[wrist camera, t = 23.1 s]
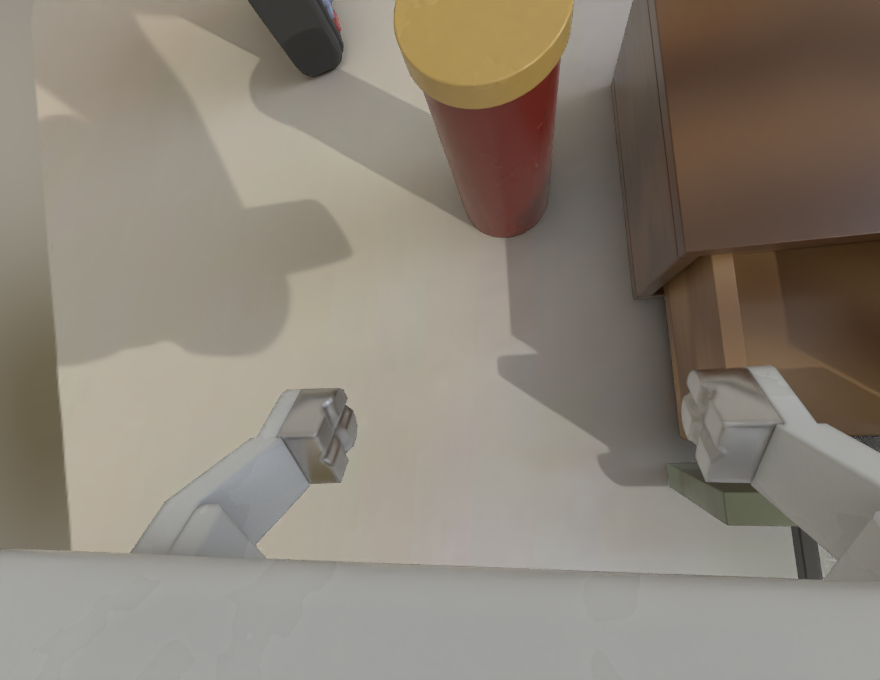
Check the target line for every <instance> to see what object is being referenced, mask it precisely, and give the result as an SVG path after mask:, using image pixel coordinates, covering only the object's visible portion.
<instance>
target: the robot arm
mask: <svg viewBox="0 0 880 680" xmlns="http://www.w3.org/2000/svg"><path fill="white" fill-rule="evenodd" d="M686 384H687V386H688V389H689V391H690V392H689V393H688V394H687V395H686V396H684V397H683V400H682V406H681V417H682V424H683V428H684V431H685V434H686V436H687V439H688V440H690V441H691V442H692V443H694V444H695V445H697V449H696V453H695V458H696V460H697V463H698V465H699V467H700V470H701V472H702V474H703V477H704V479H705V481H706V482H724V483H751V486H753V487H754V488H755V489H756V490H757V491H758V492H759V493H761V494H762V495H763V496H764V497H765V498H766V499H768V500H769V501H770V502H771V503H772V504H773V505H774V506H776V507H777V508H778V509H779V510H780V511H781V512H783V513H784V514H785V515H786V516H787V517H788V518H789V519H791V520H792V521H793V522H794V523H795V524H796V525H798V526H799V527H800V528H801V529H802V530H803V531H804V532H806V533H807V534H808V535H809V536H810V537H811V538H813V539H814V540H815V541H816V542H817V543H818V544H819V545H821V546H822V547H823V548H824V549H825V550H826V551H828V552H829V553H830V554H831V555H832V556H833V557H834V558H836V559H837V560H838V561H837V563H836V564H835V565H834V567H833V568H832V569H831V571H830V572H829V573H828V575H827V576H826V577H825V578H824V580H816V579H789V578H763V577H737V576H710V575H684V574H658V573H632V572H606V571H580V570H554V569H528V568H501V567H475V566H448V565H421V564H394V563H368V562H342V561H316V560H290V559H266V557H265V556H264V555H263V553H262V552H261V551H260V550H259V549H258V548H257V547H256V544H257V543H258V542H259V540H260V539H261V538H262V537H263V536H264V535H265V534H266V533H267V532H268V531H269V530H270V529H271V527H272V526H273V525H274V524H275V523H276V522H277V521H278V520H279V519H280V518H281V517H282V516H283V514H284V513H285V512H286V511H287V510H288V509H289V508H290V507H291V506H292V505H293V504H294V502H295V501H296V500H297V499H298V498H299V497H300V496H301V495H302V494H303V493H304V492H305V491H306V489H307V488H308V487H309V486H310V484H317V483H341V481H342V478H343V475H344V472H345V469H346V467H347V464H348V461H349V460H348V458H347V456H346V452H347V451H349V450H350V449H351V448H352V447H353V446H354V443H355V440H356V437H357V421H356V417H355V414H354V412H353V410H352V409H350V408H349V407H347V406H346V405H345V404H346V402H347V399H348V398H347V396H346V394H345V392H344V390H343V389H340V388H319V389H296V390H286V391H284V392H283V393H282V394H281V395H280V397H279V399H278V401H277V402H276V404H275V406H274V408H273V409H272V411H271V413H270V415H269V416H268V418H267V420H266V422H265V423H264V425H263V427H262V429H261V430H260V432H259V434H258V435H257V437H256V438H250V439H249V440H248V441H246V442H245V443H244V444H242V445H241V446H240V447H238V448H237V449H236V450H234V451H233V452H232V453H230V454H229V455H228V456H226V457H225V458H223V459H222V460H221V461H219V462H218V463H217V464H215V465H214V466H213V467H211V468H210V469H209V470H207V471H206V472H205V473H203V474H202V475H201V476H199V477H198V478H196V479H195V480H194V481H192V482H191V483H190V484H188V485H187V486H186V487H184V488H183V489H182V490H180V491H179V492H178V493H176V494H175V495H174V496H172V497H171V498H170V499H168V500H167V501H165V502H164V504H163V505H162V507H161V508H160V510H159V511H158V513H157V514H156V516H155V517H154V519H153V520H152V522H151V523H150V524H149V526H148V527H147V529H146V530H145V532H144V533H143V535H142V536H141V538H140V539H139V541H138V542H137V544H136V545H135V547H134V548H133V549H132V551H131V552H130V553H110V552H85V551H59V550H57V551H56V550H33V549H11V548H0V680H880V452H878V451H876V450H874V449H872V448H871V447H869V446H867V445H865V444H863V443H861V442H859V441H858V440H856V439H854V438H852V437H850V436H848V435H846V434H845V433H843V432H841V431H839V430H837V429H835V428H834V427H832V426H830V425H828V424H817V422H816V421H815V420H814V418H813V417H812V416H811V414H810V413H809V412H808V410H807V409H806V408H805V406H804V405H803V404H802V402H801V401H800V400H799V398H798V397H797V396H796V394H795V393H794V392H793V390H792V389H791V388H790V386H789V385H788V384H787V382H786V381H785V380H784V378H783V377H782V376H781V374H780V373H779V372H778V370H777V369H776V368H775V367H773V366H771V365H765V366H749V367H742V368H741V367H736V368H718V369H701V370H691V371H690V373H689V374H688V378H687V382H686Z"/></svg>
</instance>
